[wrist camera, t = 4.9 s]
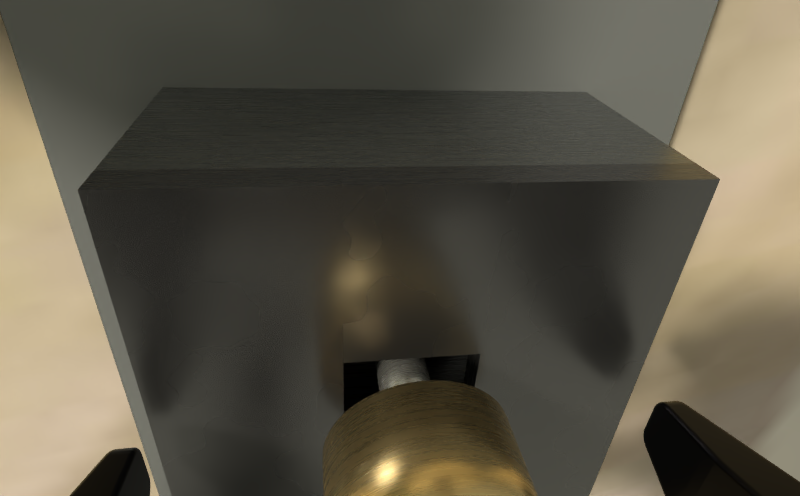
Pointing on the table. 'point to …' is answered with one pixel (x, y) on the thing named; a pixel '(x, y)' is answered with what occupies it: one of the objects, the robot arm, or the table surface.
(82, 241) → the slate board
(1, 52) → the table surface
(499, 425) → the golden knob
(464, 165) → the grey knob block
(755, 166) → the table surface
